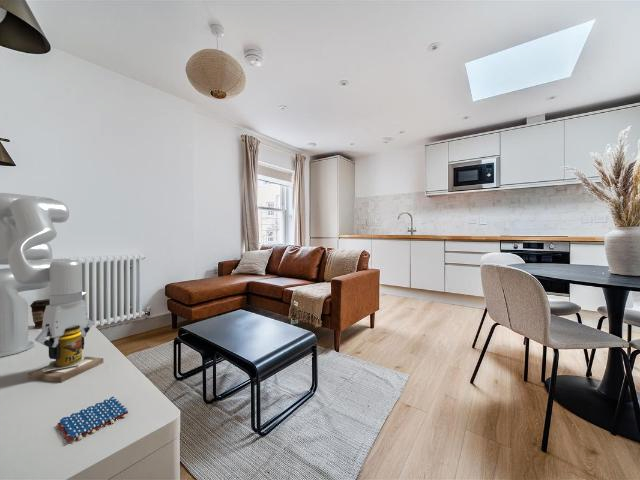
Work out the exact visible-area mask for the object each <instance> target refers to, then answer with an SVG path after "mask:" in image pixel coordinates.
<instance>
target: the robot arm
mask: <svg viewBox="0 0 640 480" xmlns="http://www.w3.org/2000/svg"><path fill="white" fill-rule="evenodd" d="M69 217H70V210H69V209H68V206H67V205H66V203H65V202H63V201H62V200H58V199H53V198H51V197H46V196H45V197H44V196H36V195H28V194H27V195H26V194H17V193H9V192H7V193H6V192H0V265H2V266H3V265H4V266H5V265H9V267H8V268H7V267H5V268H0V358H2V357H6V356H11V355H15V354H19V353H22V352H24V351H28V350H30V349H31V348H33V347H34V346H35V342H37V343H40V344H41V345H44V346H45V347H46V348H47V347H48V358H49V359H50V360H56V359H59V358H60V346H57V345H58V342H59V340H60V337H61V336H63V335H64V332H65V329H68V328H71V327H75V326H77V325H80V332H81V334H82V337H81V338H82V350H84V349H85V337H86V336H87V333H88V332H89V331H90V329H91V328H92V327H93V325H94V324H95V322H94V321H93V320H92V319H89V317H88V309H87V305H86V304H87V303H86V300H84V299H83V297H85V296H86V294H87V292H86V291H83V265H82V262H81V261H80V260H78V259H77V260H76V259H70V258H53V250H52V246H51V245H50V242H51V241H53V240H54V239H55V238H57V230H56V228H55V225H54V224H53V223H56V224H57V223H58V224H60V223H65V222H67V221H68V219H69ZM46 288H49V299H50V305H47V306H46V308H45V312H44V316H43V324H42V328H41V332H40V333H39V334H38V335H37V336H36V337H35V338H34V341H35V342H34V341H33V340H31V341H29V307H28V306H29V305H28V302H27V300H26V299H25V298H24V297H23V296H21V295H19V294H18V293H22V292H26V291H36V290H41V289H46ZM47 337H48V339H47Z"/></svg>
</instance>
